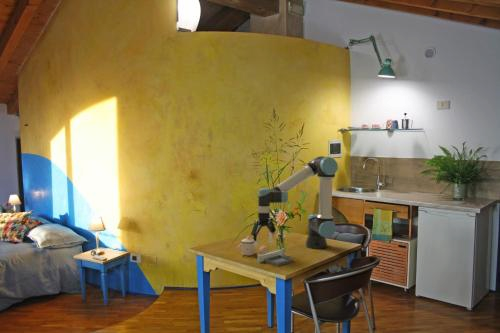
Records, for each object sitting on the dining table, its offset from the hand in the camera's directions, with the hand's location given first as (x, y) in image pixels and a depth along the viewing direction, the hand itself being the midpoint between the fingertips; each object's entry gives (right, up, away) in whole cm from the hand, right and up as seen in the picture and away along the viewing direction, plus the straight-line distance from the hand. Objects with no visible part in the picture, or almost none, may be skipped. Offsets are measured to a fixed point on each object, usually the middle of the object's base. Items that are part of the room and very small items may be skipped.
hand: (263, 244), depth 268 cm
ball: (0, -5, 0) cm, 5 cm away
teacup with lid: (-11, -8, +5) cm, 15 cm away
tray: (+9, -9, -12) cm, 18 cm away
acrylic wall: (+5, -8, -6) cm, 11 cm away
